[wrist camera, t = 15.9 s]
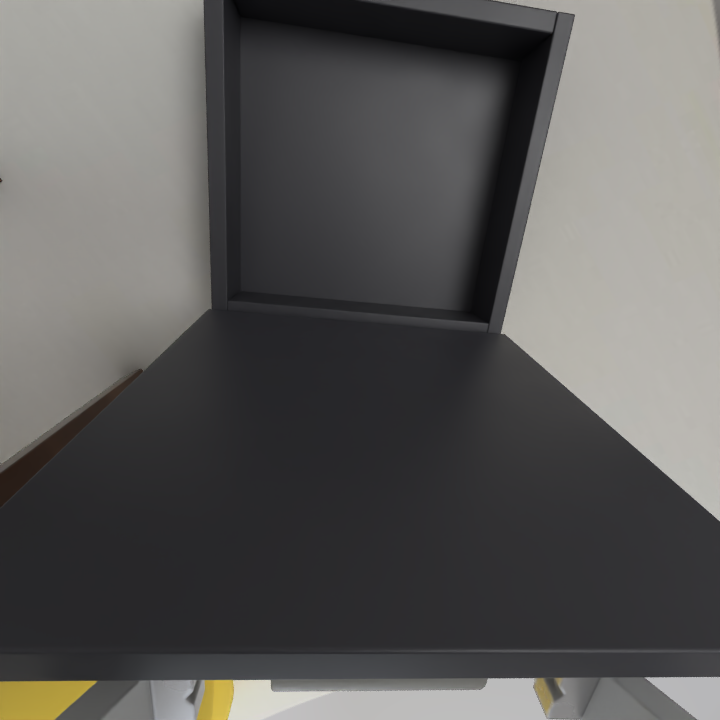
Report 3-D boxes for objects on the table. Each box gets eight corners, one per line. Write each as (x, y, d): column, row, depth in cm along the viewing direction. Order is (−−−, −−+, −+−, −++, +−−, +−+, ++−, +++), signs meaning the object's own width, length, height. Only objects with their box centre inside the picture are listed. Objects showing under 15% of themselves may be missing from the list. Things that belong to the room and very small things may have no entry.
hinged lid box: (227, 2, 18) (201, -52, 15) (532, 52, 20) (575, 13, 16) (230, 300, 23) (211, 314, 20) (475, 322, 25) (499, 338, 21)
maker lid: (-154, 651, 5) (-36, 806, 7) (871, 650, 6) (728, 778, 8) (208, 308, 19) (213, 392, 21) (505, 333, 20) (483, 409, 22)
